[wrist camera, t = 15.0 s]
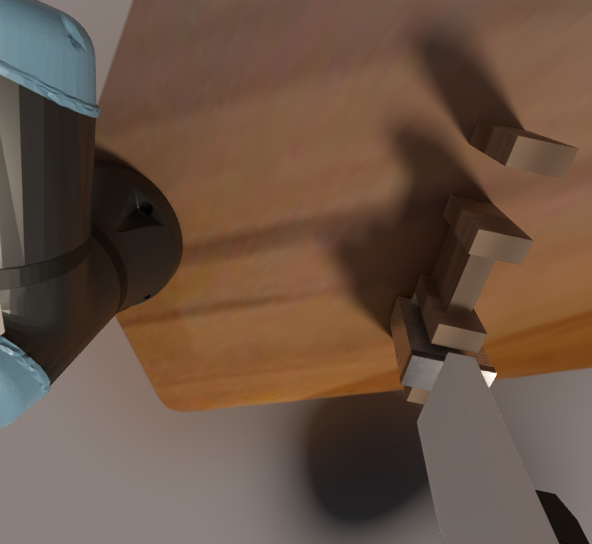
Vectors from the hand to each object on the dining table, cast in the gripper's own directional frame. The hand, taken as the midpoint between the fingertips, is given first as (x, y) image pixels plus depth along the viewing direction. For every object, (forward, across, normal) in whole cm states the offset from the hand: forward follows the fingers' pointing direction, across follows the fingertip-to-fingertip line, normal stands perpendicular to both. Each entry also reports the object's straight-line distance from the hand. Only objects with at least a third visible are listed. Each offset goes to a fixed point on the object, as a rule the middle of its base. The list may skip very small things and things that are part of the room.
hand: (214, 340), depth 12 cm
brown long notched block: (+29, +16, -6) cm, 33 cm away
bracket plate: (+28, +16, -14) cm, 35 cm away
